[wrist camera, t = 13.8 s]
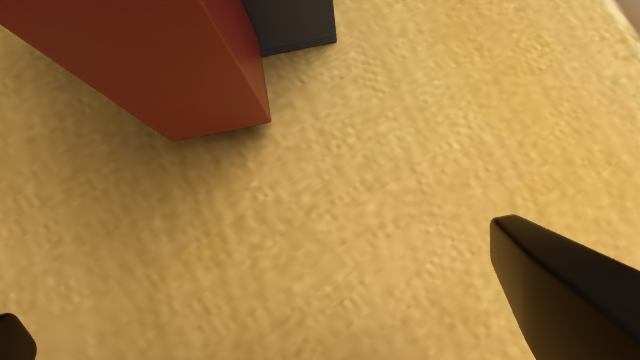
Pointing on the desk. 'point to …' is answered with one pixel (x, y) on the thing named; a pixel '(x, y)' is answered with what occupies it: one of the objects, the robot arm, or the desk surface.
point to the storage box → (291, 24)
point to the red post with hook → (155, 57)
